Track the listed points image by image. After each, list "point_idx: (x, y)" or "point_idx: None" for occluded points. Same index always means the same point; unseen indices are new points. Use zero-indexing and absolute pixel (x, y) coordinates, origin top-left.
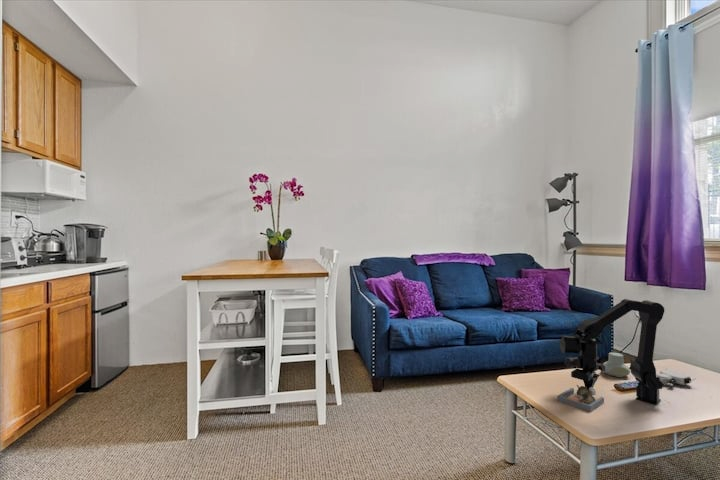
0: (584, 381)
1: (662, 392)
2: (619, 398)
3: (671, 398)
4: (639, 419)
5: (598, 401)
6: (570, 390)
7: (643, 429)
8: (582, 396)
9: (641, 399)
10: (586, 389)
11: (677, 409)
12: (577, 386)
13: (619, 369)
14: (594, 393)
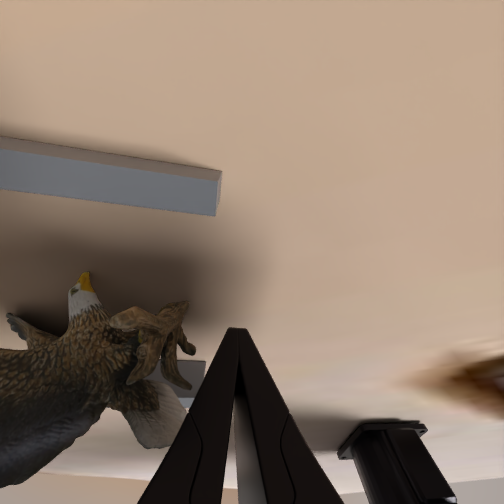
0: (158, 478)
1: (488, 439)
2: (332, 392)
3: (432, 455)
4: (137, 455)
5: None
6: (91, 199)
7: (54, 471)
8: (73, 323)
9: (356, 438)
10: (17, 443)
11: (333, 471)
12: (116, 316)
13: None
14: (167, 399)
